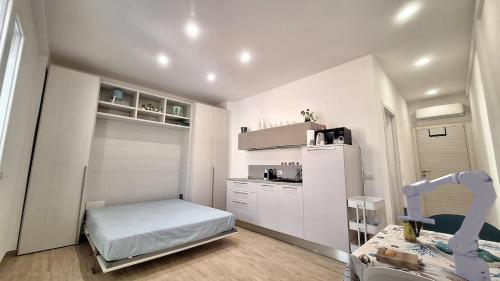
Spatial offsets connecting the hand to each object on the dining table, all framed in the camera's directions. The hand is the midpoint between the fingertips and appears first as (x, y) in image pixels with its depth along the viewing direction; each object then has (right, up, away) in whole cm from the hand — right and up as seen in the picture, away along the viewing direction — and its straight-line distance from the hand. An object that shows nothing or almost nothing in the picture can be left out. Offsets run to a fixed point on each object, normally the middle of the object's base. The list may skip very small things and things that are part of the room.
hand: (417, 236), depth 101 cm
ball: (-14, -9, 0) cm, 17 cm away
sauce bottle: (+15, -14, +23) cm, 31 cm away
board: (-12, -11, -2) cm, 16 cm away
